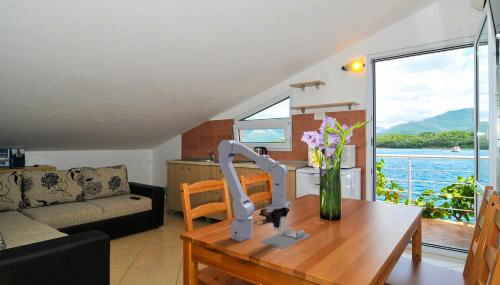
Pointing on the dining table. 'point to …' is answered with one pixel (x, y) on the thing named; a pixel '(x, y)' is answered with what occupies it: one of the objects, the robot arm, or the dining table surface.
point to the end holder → (293, 233)
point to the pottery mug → (267, 215)
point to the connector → (282, 224)
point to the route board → (282, 240)
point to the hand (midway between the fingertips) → (279, 226)
